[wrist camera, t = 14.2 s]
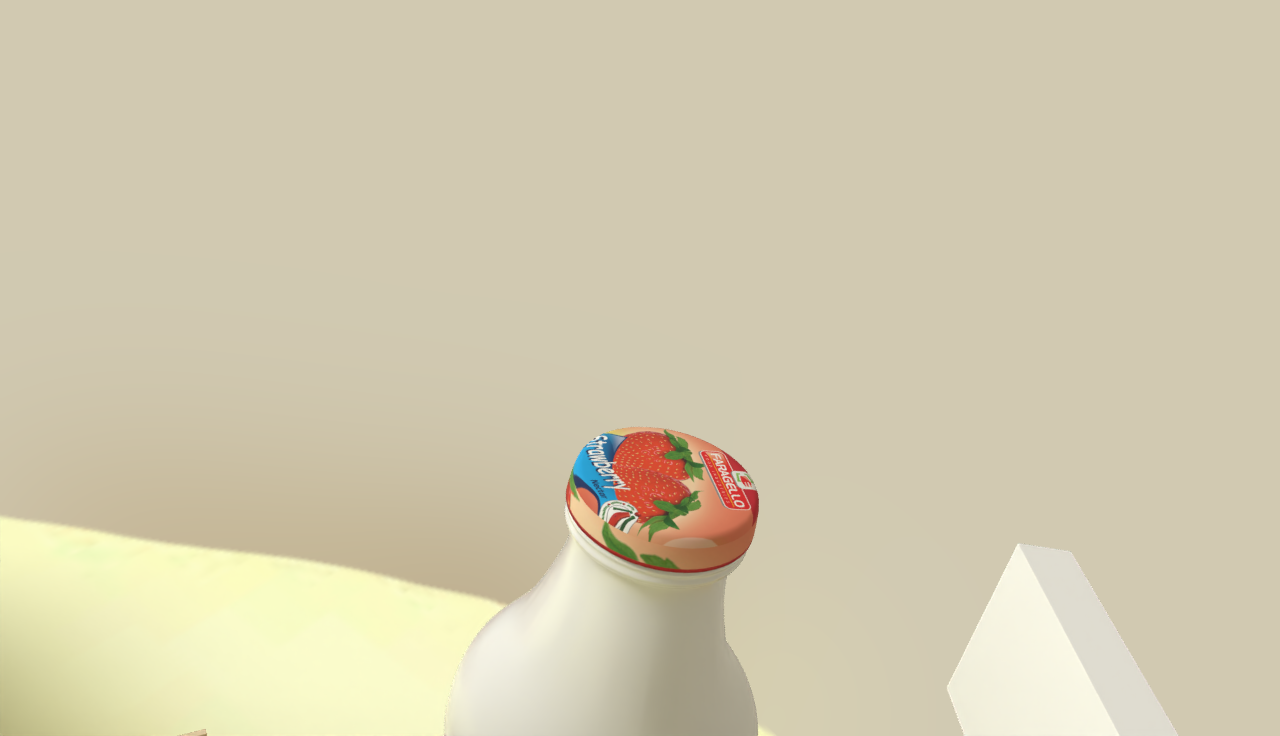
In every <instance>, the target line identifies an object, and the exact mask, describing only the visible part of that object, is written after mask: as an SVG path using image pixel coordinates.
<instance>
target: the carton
mask: <svg viewBox="0 0 1280 736" xmlns="http://www.w3.org/2000/svg"><path fill="white" fill-rule="evenodd" d="M179 736H207V733H206V729H203V730H199V731H195V732H191V733H187V734H183V735H179Z"/></svg>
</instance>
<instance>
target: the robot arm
mask: <svg viewBox="0 0 1280 736" xmlns="http://www.w3.org/2000/svg"><path fill="white" fill-rule="evenodd" d="M947 691H948V693H949V696H950V698H951V701H952V704H953V707H954V709H955V712H956V714H957V717H958V720H959V722H960V725H961V728H962V731H963V733H964V736H1178V734H1177V732H1176V730H1175V729H1174V727H1173V725H1172V724H1171V722H1170V720H1169V719H1168V717H1167V715H1166V713H1165V712H1164V710H1163V708H1162V707H1161V705H1160V703H1159V701H1158V700H1157V698H1156V696H1155V695H1154V693H1153V691H1152V690H1151V688H1150V686H1149V684H1148V683H1147V681H1146V679H1145V678H1144V676H1143V674H1142V673H1141V671H1140V669H1139V667H1138V666H1137V664H1136V662H1135V660H1134V659H1133V657H1132V655H1131V654H1130V652H1129V650H1128V649H1127V647H1126V645H1125V643H1124V642H1123V640H1122V638H1121V637H1120V635H1119V633H1118V632H1117V630H1116V628H1115V626H1114V625H1113V623H1112V621H1111V620H1110V618H1109V616H1108V614H1107V613H1106V611H1105V609H1104V608H1103V606H1102V604H1101V603H1100V601H1099V599H1098V597H1097V596H1096V594H1095V592H1094V590H1093V589H1092V587H1091V585H1090V584H1089V582H1088V580H1087V579H1086V577H1085V575H1084V573H1083V572H1082V570H1081V568H1080V567H1079V565H1078V563H1077V561H1076V560H1075V558H1074V556H1073V555H1072V553H1071V552H1070V551H1065V550H1059V549H1052V548H1046V547H1040V546H1032V545H1026V544H1020V543H1018V545H1017V547H1016V549H1015V551H1014V553H1013V555H1012V557H1011V559H1010V561H1009V563H1008V565H1007V567H1006V569H1005V571H1004V573H1003V575H1002V577H1001V579H1000V581H999V583H998V585H997V587H996V589H995V591H994V593H993V595H992V597H991V599H990V601H989V603H988V605H987V607H986V609H985V611H984V613H983V615H982V618H981V619H980V621H979V623H978V625H977V627H976V629H975V632H974V634H973V636H972V638H971V640H970V642H969V644H968V646H967V648H966V650H965V652H964V654H963V656H962V658H961V660H960V662H959V664H958V666H957V668H956V670H955V672H954V674H953V676H952V678H951V680H950V682H949V684H948V686H947Z"/></svg>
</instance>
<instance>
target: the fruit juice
mask: <svg viewBox="0 0 1280 736" xmlns="http://www.w3.org/2000/svg"><path fill="white" fill-rule="evenodd" d="M758 511H759V499H758V493H757V490H756V487H755V485H754V482H753V480H752V479H751V477H750V475H749V474H748V473H747V471H746V470H745V469H744V468H743V467H742V466H741V465H740V464H739V463H738V462H737V461H736V460H735V459H733V458H732V457H731V456H729V455H728V454H727V453H725V452H724V451H722V450H721V449H719V448H717V447H716V446H714V445H712V444H710V443H708V442H706V441H703V440H701V439H699V438H696V437H693V436H691V435H688V434H684V433H681V432H676V431H672V430H667V429H661V428H652V427H630V428H622V429H617V430H613V431H609V432H607V433H604V434H602V435H600V436H598V437H596V438H594V439H593V440H592V441H590V442H589V443H588V444H587V445H586V446H585V447H584V448H583V449H582V451H581V452H580V454H579V456H578V458H577V460H576V462H575V464H574V467H573V469H572V472H571V475H570V478H569V482H568V485H567V489H566V503H565V518H566V522H567V526H568V529H569V531H570V535H569V537H568V539H567V541H566V543H565V545H564V547H563V548H562V550H561V552H560V553H559V555H558V556H557V558H556V559H555V561H554V562H553V563H552V565H551V566H550V568H549V569H548V571H547V572H546V574H545V575H544V576H543V577H542V579H541V580H540V581H539V582H538V583H537V584H536V585H535V586H534V587H533V588H532V589H531V590H530V591H528V592H527V593H526V594H524V595H522V596H521V597H520V598H518V599H516V600H515V601H513V602H512V603H510V604H509V605H507V606H506V607H504V608H503V609H502V610H501V611H499V612H498V613H497V614H496V615H494V616H493V617H492V618H491V619H490V620H489V621H488V622H487V623H486V624H485V625H484V626H483V627H482V628H481V630H480V631H479V632H478V633H477V635H476V636H475V637H474V639H473V640H472V641H471V643H470V645H469V646H468V648H467V650H466V651H465V653H464V655H463V657H462V659H461V661H460V663H459V665H458V668H457V670H456V673H455V676H454V679H453V682H452V686H451V690H450V694H449V698H448V701H447V705H446V711H445V720H444V736H758V722H757V713H756V707H755V702H754V698H753V694H752V691H751V688H750V685H749V682H748V680H747V677H746V675H745V672H744V670H743V668H742V666H741V664H740V662H739V660H738V659H737V657H736V655H735V654H734V652H733V650H732V649H731V647H730V646H729V644H728V643H727V641H726V638H725V625H724V593H725V584H726V578H727V576H728V575H729V574H730V573H732V571H734V570H735V569H736V568H737V567H738V566H739V564H740V563H741V562H742V560H743V558H744V556H745V554H746V551H747V550H748V548H749V546H750V544H751V542H752V539H753V536H754V532H755V528H756V523H757V517H758Z"/></svg>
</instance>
